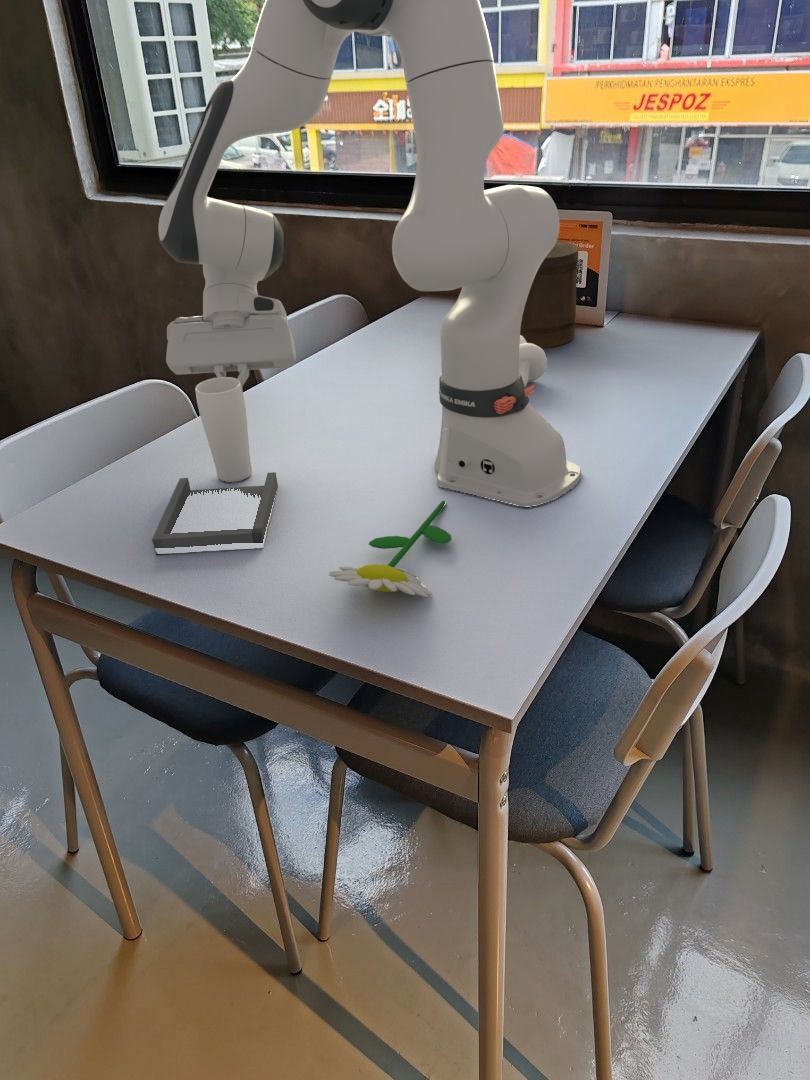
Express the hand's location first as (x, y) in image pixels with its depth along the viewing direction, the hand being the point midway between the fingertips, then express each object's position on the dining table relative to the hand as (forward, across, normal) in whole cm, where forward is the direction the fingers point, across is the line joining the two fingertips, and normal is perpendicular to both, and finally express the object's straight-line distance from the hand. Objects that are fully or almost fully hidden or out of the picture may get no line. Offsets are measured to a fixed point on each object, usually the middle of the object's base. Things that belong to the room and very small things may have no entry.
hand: (232, 394), depth 129 cm
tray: (+22, 0, -7) cm, 23 cm away
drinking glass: (+13, 0, +2) cm, 13 cm away
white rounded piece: (-8, +47, +23) cm, 53 cm away
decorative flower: (+32, +26, -17) cm, 45 cm away
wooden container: (-26, +56, +42) cm, 74 cm away
